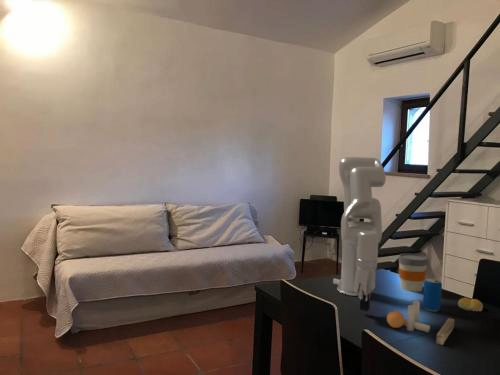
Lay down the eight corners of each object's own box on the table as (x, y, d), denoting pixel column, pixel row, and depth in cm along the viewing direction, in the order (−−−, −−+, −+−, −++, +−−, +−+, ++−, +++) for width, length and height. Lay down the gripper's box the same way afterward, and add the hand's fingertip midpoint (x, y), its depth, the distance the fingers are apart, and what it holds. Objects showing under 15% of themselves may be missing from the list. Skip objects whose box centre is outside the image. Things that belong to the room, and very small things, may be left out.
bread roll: (459, 303, 182) (459, 294, 182) (483, 307, 178) (483, 298, 177) (456, 309, 175) (457, 299, 175) (481, 314, 171) (482, 304, 170)
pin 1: (405, 329, 153) (407, 306, 152) (407, 327, 155) (409, 304, 154) (412, 331, 152) (414, 308, 151) (414, 329, 154) (416, 306, 153)
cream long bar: (436, 343, 143) (436, 334, 142) (447, 326, 157) (448, 318, 157) (442, 345, 142) (443, 336, 141) (453, 327, 156) (454, 319, 156)
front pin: (403, 321, 156) (427, 328, 150) (405, 317, 157) (429, 324, 152) (404, 327, 157) (428, 333, 151) (406, 323, 158) (430, 329, 153)
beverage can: (441, 313, 170) (443, 283, 169) (424, 311, 171) (426, 281, 170) (438, 307, 176) (440, 278, 175) (421, 305, 178) (423, 277, 177)
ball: (396, 333, 155) (382, 321, 158) (406, 321, 157) (392, 309, 160) (398, 329, 150) (383, 317, 153) (408, 316, 152) (394, 305, 155)
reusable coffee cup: (425, 286, 204) (427, 254, 202) (426, 294, 192) (428, 261, 190) (397, 282, 208) (398, 252, 206) (396, 290, 196) (398, 258, 195)
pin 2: (410, 324, 158) (411, 301, 157) (412, 322, 160) (413, 300, 159) (417, 326, 157) (418, 303, 156) (419, 324, 159) (420, 301, 158)
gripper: (364, 257, 173) (362, 301, 175) (349, 265, 161) (347, 313, 163) (383, 260, 169) (380, 306, 171) (369, 269, 156) (366, 318, 158)
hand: (364, 309), depth 167 cm, fingers closed
